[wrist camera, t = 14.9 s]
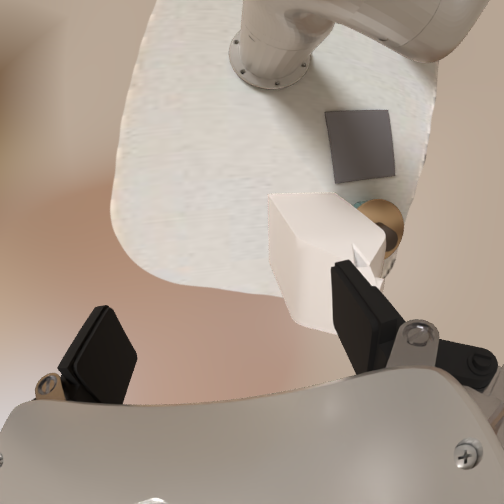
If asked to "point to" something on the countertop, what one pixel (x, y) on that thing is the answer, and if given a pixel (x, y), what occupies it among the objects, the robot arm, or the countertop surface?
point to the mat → (360, 144)
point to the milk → (319, 251)
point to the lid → (385, 221)
